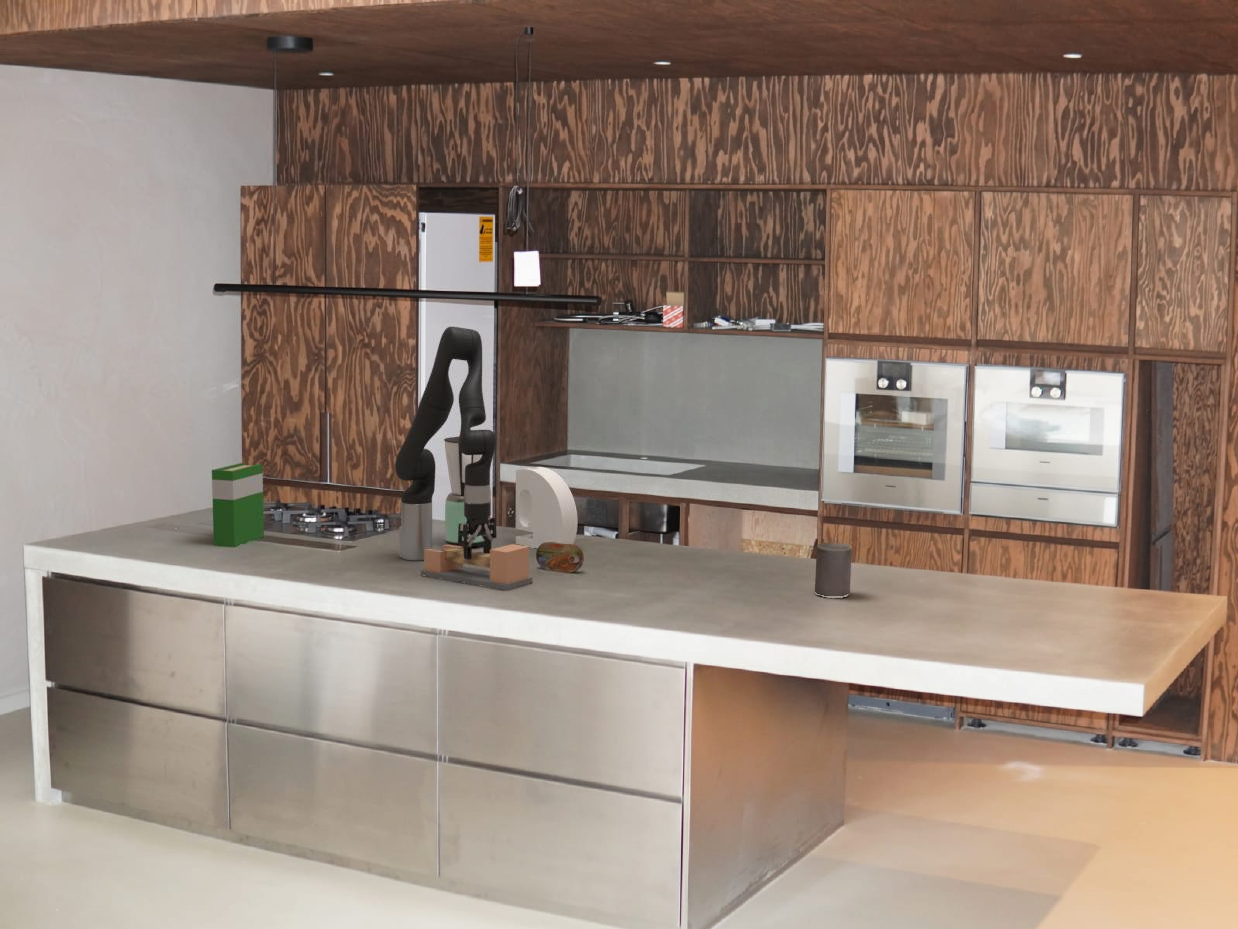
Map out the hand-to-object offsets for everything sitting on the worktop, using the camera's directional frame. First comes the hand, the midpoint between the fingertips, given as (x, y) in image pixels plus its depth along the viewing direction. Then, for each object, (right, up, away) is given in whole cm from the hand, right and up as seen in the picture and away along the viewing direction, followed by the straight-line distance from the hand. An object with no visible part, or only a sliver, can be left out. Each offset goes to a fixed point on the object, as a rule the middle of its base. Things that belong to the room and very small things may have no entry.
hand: (477, 556), depth 399 cm
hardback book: (-81, +1, +51) cm, 96 cm away
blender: (-8, 0, +48) cm, 49 cm away
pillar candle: (+99, -10, -12) cm, 100 cm away
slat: (0, -2, 0) cm, 2 cm away
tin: (+23, -5, +14) cm, 27 cm away
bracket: (+17, -1, +47) cm, 50 cm away
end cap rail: (0, -7, +1) cm, 7 cm away
